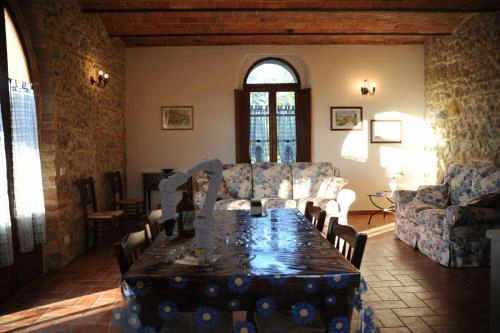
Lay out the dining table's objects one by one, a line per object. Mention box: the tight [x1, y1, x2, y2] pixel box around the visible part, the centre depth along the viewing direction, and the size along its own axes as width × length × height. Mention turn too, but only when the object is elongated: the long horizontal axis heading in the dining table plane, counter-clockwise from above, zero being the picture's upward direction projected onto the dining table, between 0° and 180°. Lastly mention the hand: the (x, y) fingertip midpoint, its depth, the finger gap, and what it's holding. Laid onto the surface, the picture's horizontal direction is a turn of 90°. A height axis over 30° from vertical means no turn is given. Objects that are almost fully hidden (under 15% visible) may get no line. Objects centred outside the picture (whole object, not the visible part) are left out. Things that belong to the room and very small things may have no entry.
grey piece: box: [166, 246, 214, 266], centre depth 173 cm, size 12×20×4 cm, turn 69°
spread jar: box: [249, 197, 268, 217], centre depth 284 cm, size 12×11×12 cm
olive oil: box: [175, 190, 196, 239], centre depth 224 cm, size 11×11×25 cm
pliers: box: [239, 253, 257, 269], centre depth 175 cm, size 10×1×20 cm
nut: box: [194, 247, 206, 257], centre depth 181 cm, size 4×5×3 cm
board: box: [165, 252, 224, 267], centre depth 176 cm, size 16×20×1 cm
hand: (169, 236), depth 181 cm, fingers closed
